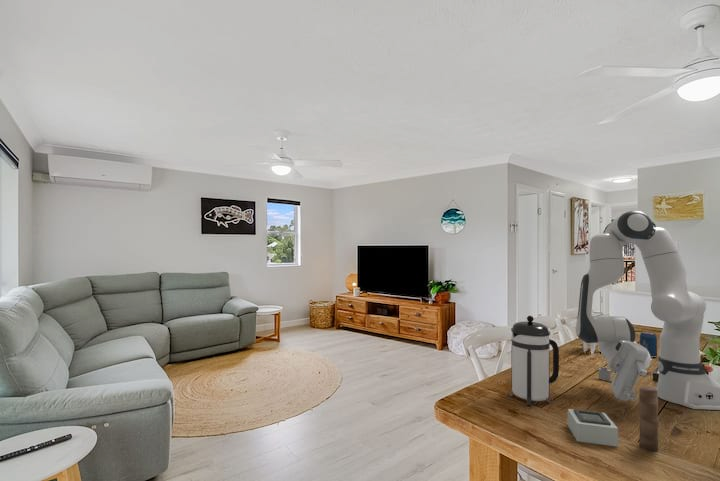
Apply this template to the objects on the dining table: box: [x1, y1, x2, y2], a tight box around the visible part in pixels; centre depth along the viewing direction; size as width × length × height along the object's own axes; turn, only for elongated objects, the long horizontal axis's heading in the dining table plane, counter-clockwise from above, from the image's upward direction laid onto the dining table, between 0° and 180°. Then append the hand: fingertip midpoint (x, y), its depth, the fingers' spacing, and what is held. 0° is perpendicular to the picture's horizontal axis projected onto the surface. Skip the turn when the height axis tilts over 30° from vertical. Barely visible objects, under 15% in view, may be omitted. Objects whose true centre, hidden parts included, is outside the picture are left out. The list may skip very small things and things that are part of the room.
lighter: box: [598, 366, 615, 382], centre depth 154 cm, size 7×2×8 cm, turn 56°
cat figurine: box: [581, 340, 597, 354], centre depth 197 cm, size 25×10×17 cm, turn 135°
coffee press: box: [507, 315, 560, 408], centre depth 135 cm, size 17×16×30 cm
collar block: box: [567, 408, 619, 448], centre depth 108 cm, size 10×10×6 cm
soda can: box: [639, 331, 658, 357], centre depth 191 cm, size 7×7×12 cm
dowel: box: [638, 385, 659, 453], centre depth 102 cm, size 4×4×16 cm
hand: (638, 385), depth 122 cm, fingers open, 8 cm apart
